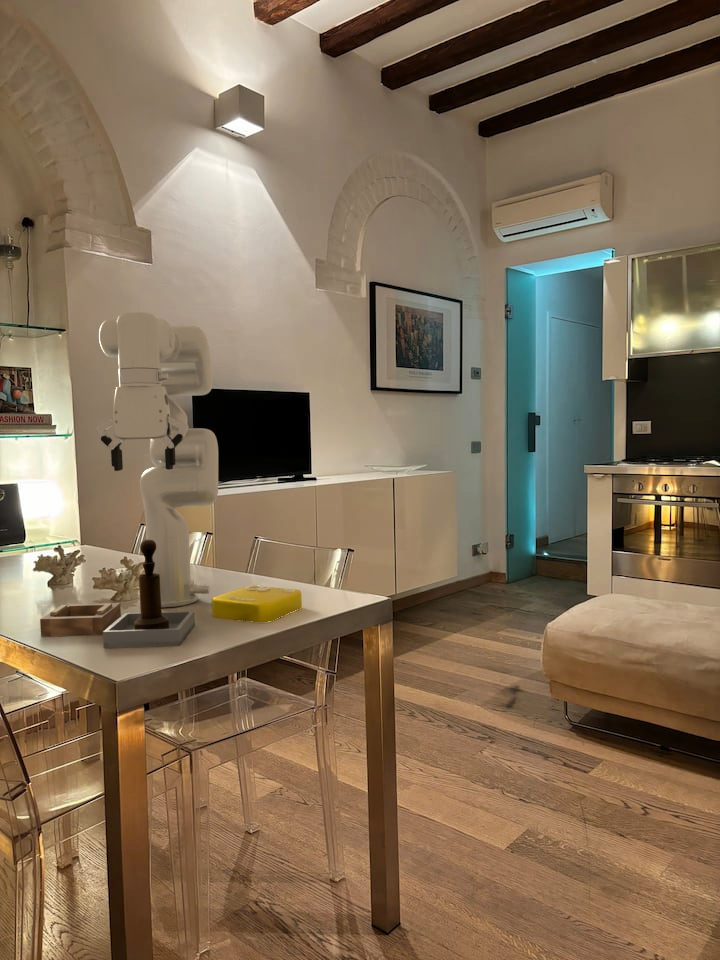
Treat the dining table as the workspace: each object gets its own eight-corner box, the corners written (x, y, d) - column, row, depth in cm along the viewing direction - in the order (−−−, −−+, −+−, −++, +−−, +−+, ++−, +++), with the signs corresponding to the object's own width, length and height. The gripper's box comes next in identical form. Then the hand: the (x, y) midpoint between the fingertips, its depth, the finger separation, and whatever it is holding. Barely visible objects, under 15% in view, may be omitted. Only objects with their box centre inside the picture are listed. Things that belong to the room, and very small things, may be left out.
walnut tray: (121, 619, 155) (120, 600, 155) (102, 634, 143) (101, 614, 143) (64, 620, 155) (63, 601, 155) (40, 636, 143) (39, 616, 143)
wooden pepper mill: (137, 628, 145) (134, 537, 144) (171, 626, 145) (167, 536, 144) (131, 637, 138) (127, 542, 137) (166, 635, 139) (162, 541, 138)
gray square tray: (195, 625, 149) (194, 610, 149) (180, 645, 135) (179, 629, 135) (125, 627, 148) (125, 613, 148) (103, 647, 134) (102, 631, 134)
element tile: (208, 618, 156) (207, 596, 155) (250, 603, 169) (249, 582, 169) (266, 625, 149) (265, 602, 148) (305, 609, 162) (304, 587, 162)
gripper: (190, 380, 142) (193, 467, 144) (100, 382, 142) (104, 470, 143) (181, 377, 135) (185, 469, 136) (87, 379, 134) (91, 472, 136)
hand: (144, 469), depth 140 cm, fingers open, 9 cm apart
